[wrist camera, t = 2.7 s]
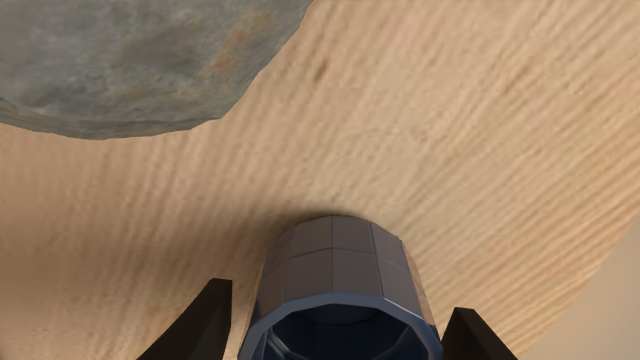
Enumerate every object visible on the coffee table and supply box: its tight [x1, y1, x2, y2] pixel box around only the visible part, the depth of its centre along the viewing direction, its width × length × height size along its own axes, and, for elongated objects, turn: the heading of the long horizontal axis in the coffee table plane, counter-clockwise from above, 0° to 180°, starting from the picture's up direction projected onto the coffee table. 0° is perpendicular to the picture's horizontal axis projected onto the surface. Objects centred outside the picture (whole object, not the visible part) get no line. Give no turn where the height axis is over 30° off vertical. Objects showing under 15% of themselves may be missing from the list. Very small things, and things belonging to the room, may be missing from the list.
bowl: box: [237, 215, 443, 360], centre depth 12 cm, size 6×6×4 cm
